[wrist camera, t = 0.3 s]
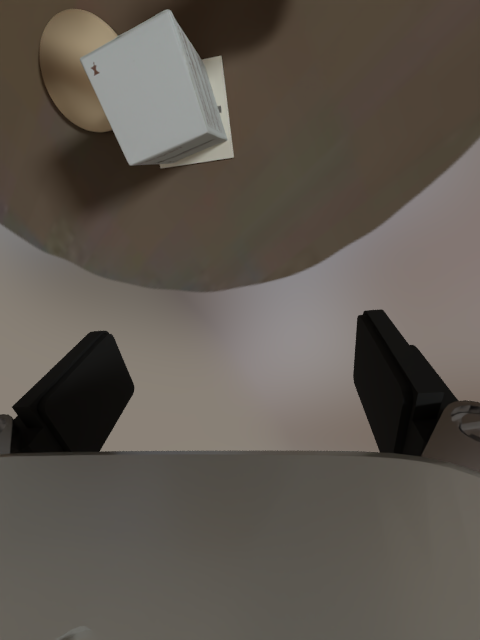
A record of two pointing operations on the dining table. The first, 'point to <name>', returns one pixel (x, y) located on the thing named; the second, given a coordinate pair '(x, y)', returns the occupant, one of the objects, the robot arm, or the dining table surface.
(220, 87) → the code tile
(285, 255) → the dining table surface
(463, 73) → the dining table surface
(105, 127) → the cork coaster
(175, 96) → the supplement box
